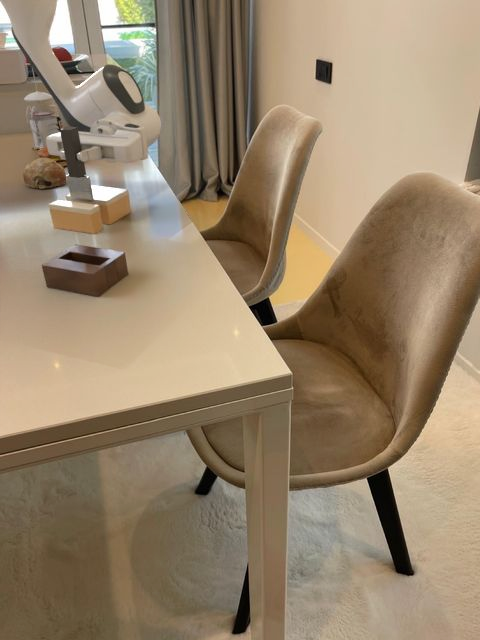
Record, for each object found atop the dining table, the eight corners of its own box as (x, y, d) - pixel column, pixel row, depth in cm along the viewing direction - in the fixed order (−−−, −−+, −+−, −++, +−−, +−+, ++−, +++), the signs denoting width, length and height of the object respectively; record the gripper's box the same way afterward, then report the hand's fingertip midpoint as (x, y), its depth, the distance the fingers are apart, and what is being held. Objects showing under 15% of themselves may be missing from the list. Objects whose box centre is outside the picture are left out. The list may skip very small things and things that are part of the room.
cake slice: (53, 227, 114) (48, 204, 112) (62, 222, 117) (57, 199, 114) (94, 234, 111) (90, 209, 109) (103, 228, 114) (99, 204, 111)
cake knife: (68, 201, 113) (53, 128, 106) (76, 197, 115) (61, 125, 107) (89, 203, 112) (75, 130, 104) (96, 199, 114) (83, 127, 106)
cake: (70, 218, 119) (65, 195, 116) (92, 206, 125) (88, 184, 122) (110, 224, 116) (106, 201, 113) (131, 212, 122) (128, 189, 119)
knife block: (46, 287, 92) (41, 264, 90) (80, 265, 99) (75, 244, 97) (97, 296, 89) (93, 274, 87) (128, 273, 96) (125, 252, 94)
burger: (68, 157, 160) (64, 140, 158) (82, 164, 154) (79, 146, 152) (34, 163, 155) (30, 146, 152) (48, 171, 149) (44, 153, 146)
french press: (71, 143, 174) (54, 52, 160) (51, 152, 165) (31, 57, 151) (43, 141, 176) (23, 52, 162) (22, 151, 167) (-1, 56, 153)
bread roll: (29, 204, 137) (23, 178, 131) (22, 176, 142) (16, 149, 135) (71, 198, 141) (67, 173, 134) (62, 171, 145) (58, 145, 139)
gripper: (68, 120, 120) (23, 135, 109) (151, 127, 114) (112, 143, 103) (73, 151, 123) (31, 167, 113) (154, 159, 117) (118, 177, 107)
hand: (71, 156), depth 108 cm, fingers closed on cake knife, 2 cm apart
